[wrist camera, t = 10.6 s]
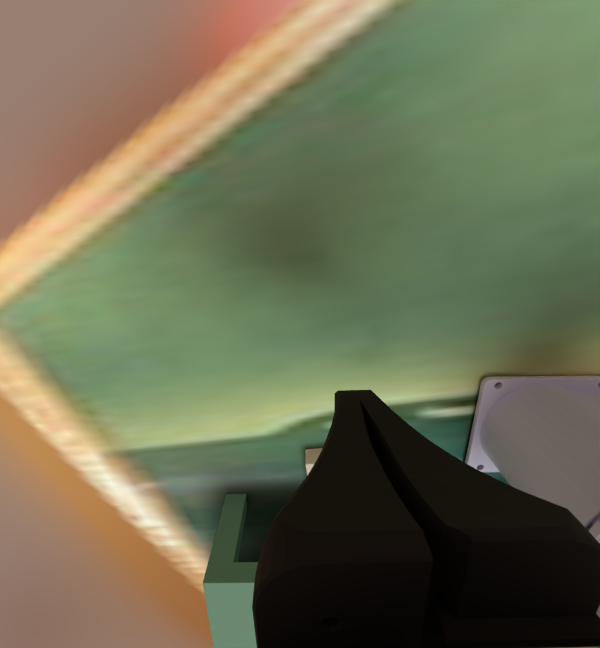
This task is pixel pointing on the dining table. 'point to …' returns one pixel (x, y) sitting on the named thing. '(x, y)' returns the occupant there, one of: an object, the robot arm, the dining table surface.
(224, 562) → the shelf
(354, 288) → the dining table surface
